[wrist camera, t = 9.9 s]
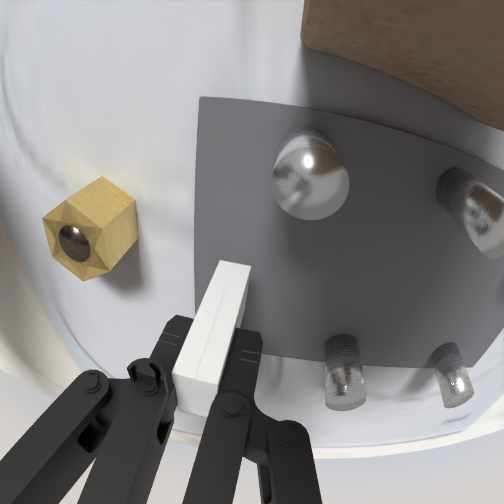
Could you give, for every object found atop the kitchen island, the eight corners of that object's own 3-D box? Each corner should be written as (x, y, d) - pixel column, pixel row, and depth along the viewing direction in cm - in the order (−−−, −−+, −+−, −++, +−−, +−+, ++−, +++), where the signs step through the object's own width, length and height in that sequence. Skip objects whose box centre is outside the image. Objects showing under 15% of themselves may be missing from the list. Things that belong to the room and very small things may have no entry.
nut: (70, 217, 17) (37, 244, 14) (87, 164, 15) (48, 187, 12) (127, 260, 18) (100, 294, 15) (152, 211, 16) (122, 244, 13)
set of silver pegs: (207, 336, 20) (190, 389, 16) (215, 114, 12) (179, 130, 8) (464, 361, 19) (478, 404, 15) (552, 210, 11) (591, 247, 7)
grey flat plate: (197, 337, 21) (196, 341, 20) (202, 96, 12) (199, 97, 12) (471, 363, 19) (472, 367, 19) (563, 204, 11) (566, 207, 10)
